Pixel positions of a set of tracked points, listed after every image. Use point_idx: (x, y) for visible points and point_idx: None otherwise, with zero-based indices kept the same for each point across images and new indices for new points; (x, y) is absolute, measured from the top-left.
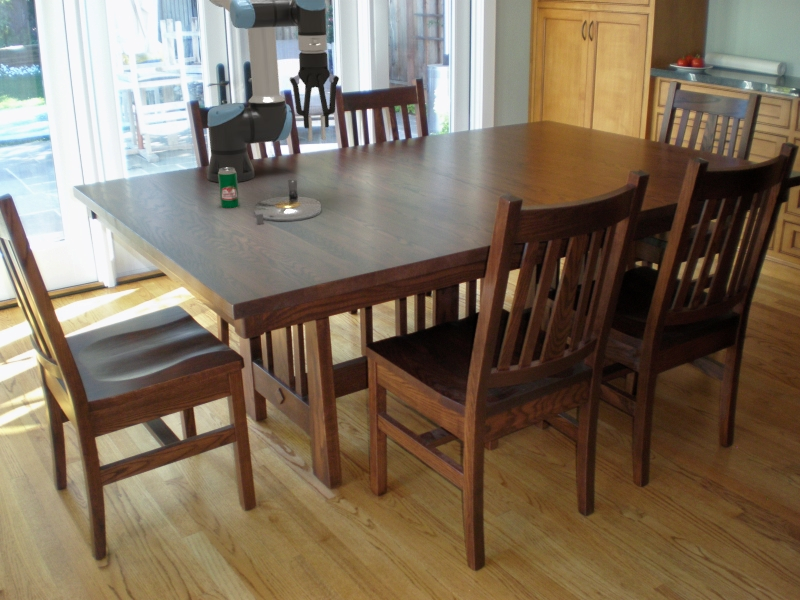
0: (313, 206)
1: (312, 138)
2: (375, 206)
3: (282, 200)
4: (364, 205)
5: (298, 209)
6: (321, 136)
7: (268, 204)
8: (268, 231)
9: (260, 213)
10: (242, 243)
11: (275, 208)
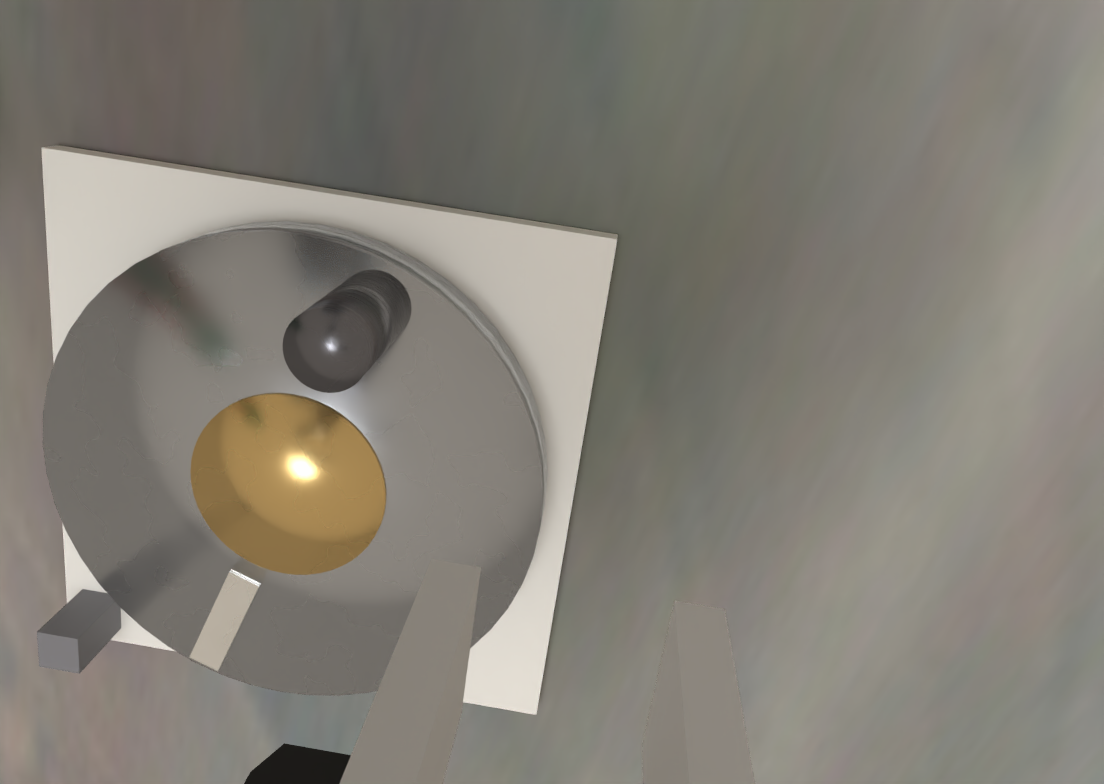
0: None
1: (453, 741)
2: (1007, 468)
3: (272, 343)
4: (947, 407)
5: (341, 621)
6: (672, 638)
7: (149, 409)
8: (155, 664)
9: (64, 651)
10: (5, 781)
11: (188, 531)
